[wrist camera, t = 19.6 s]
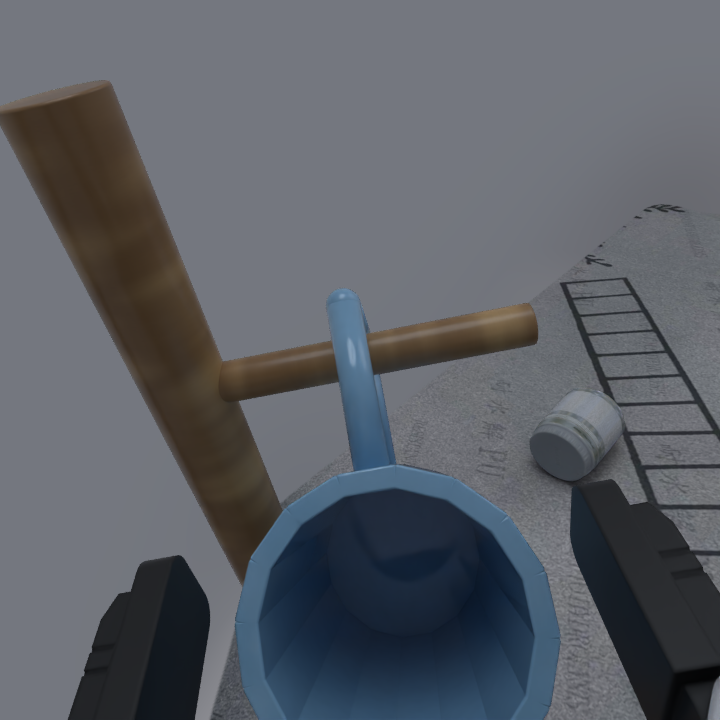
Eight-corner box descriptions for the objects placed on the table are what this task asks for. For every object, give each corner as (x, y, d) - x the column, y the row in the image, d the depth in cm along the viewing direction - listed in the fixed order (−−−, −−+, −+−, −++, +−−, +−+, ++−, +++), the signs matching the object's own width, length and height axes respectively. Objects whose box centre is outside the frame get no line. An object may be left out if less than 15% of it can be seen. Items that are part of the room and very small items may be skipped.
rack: (318, 901, 33) (-292, 195, 9) (318, 744, 39) (-31, 99, 15) (561, 867, 32) (614, -6, 8) (519, 713, 38) (480, -15, 15)
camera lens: (583, 495, 52) (623, 445, 56) (593, 450, 48) (635, 400, 52) (523, 461, 56) (564, 417, 60) (528, 417, 52) (572, 372, 56)
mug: (507, 629, 20) (595, 786, 10) (332, 658, 21) (259, 834, 11) (445, 334, 22) (470, 234, 13) (287, 364, 23) (192, 290, 13)
